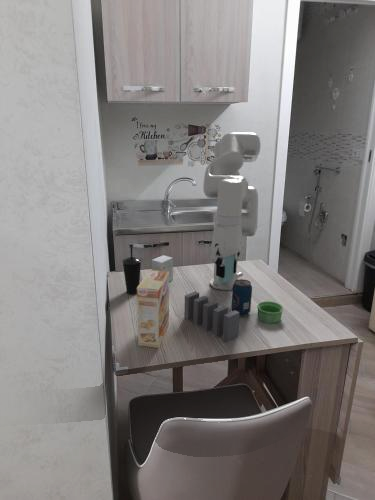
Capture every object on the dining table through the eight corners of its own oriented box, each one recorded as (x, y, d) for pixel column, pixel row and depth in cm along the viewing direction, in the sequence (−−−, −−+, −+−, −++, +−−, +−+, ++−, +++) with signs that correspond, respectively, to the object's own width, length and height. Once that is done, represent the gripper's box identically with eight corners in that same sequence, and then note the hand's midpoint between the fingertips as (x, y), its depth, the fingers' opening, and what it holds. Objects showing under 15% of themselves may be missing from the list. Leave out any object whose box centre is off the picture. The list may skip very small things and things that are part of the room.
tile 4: (213, 324, 127) (214, 300, 124) (217, 326, 126) (218, 302, 123) (202, 328, 124) (203, 304, 121) (206, 331, 122) (207, 306, 120)
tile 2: (194, 314, 134) (195, 291, 131) (198, 316, 132) (199, 293, 129) (184, 318, 130) (184, 295, 128) (188, 320, 129) (188, 297, 126)
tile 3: (203, 318, 130) (204, 295, 127) (207, 321, 129) (208, 297, 126) (193, 323, 127) (193, 299, 124) (197, 325, 126) (197, 301, 123)
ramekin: (268, 326, 126) (269, 315, 125) (251, 315, 133) (252, 304, 132) (287, 320, 131) (288, 309, 129) (269, 309, 138) (270, 299, 136)
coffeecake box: (159, 348, 113) (159, 289, 106) (137, 346, 114) (135, 287, 108) (170, 324, 127) (170, 270, 120) (149, 322, 128) (148, 269, 122)
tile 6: (233, 334, 121) (234, 310, 118) (237, 337, 119) (239, 312, 116) (222, 340, 117) (223, 315, 115) (227, 343, 116) (228, 317, 113)
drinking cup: (137, 297, 146) (135, 249, 140) (120, 294, 148) (117, 246, 142) (145, 289, 153) (144, 243, 147) (128, 286, 155) (127, 241, 149)
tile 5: (222, 329, 124) (224, 305, 121) (227, 331, 122) (228, 307, 120) (212, 334, 121) (213, 309, 118) (216, 337, 119) (217, 311, 116)
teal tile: (228, 276, 123) (229, 250, 120) (233, 278, 122) (234, 252, 119) (218, 280, 120) (219, 254, 117) (223, 282, 118) (224, 256, 116)
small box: (163, 276, 166) (163, 254, 163) (173, 279, 163) (173, 257, 160) (151, 282, 160) (151, 259, 157) (161, 285, 157) (161, 262, 153)
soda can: (227, 310, 137) (229, 280, 133) (244, 307, 139) (246, 277, 136) (236, 318, 131) (238, 287, 127) (253, 315, 133) (256, 284, 129)
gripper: (236, 213, 122) (233, 264, 128) (200, 222, 111) (199, 278, 117) (255, 217, 117) (251, 270, 123) (219, 227, 106) (217, 285, 112)
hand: (226, 273), depth 120 cm, fingers closed on teal tile, 4 cm apart
